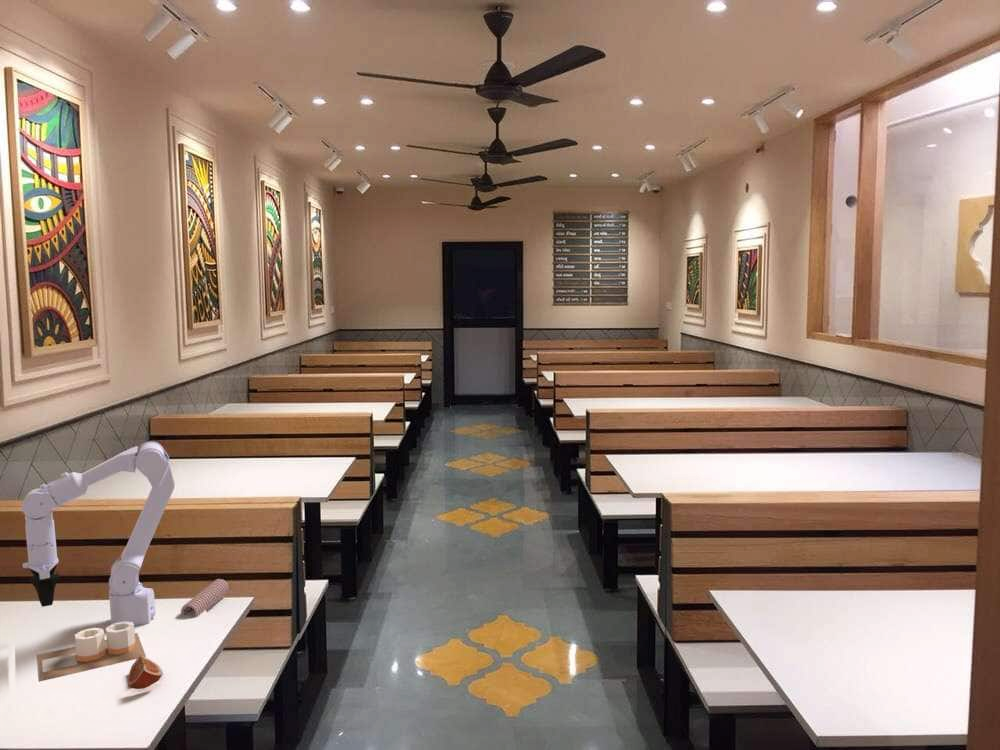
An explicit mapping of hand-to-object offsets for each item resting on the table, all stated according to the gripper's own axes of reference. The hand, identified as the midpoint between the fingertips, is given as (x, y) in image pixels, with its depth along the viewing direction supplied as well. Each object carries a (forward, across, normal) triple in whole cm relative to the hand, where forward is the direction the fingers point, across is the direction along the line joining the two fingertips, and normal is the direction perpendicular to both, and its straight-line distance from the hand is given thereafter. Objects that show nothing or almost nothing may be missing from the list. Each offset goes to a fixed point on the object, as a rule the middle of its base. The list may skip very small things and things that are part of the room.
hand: (46, 599), depth 186 cm
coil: (+10, +1, +34) cm, 36 cm away
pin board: (+9, +18, +7) cm, 22 cm away
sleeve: (+8, +18, +7) cm, 21 cm away
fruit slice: (+10, +36, +16) cm, 40 cm away
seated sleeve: (+8, +18, +13) cm, 24 cm away
